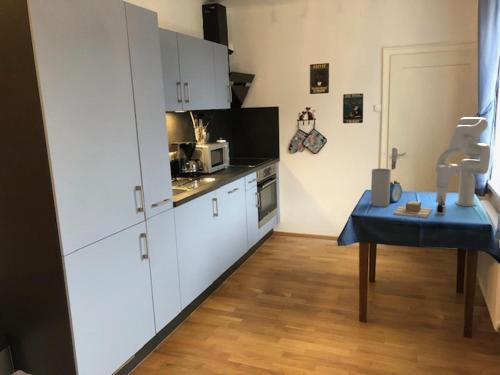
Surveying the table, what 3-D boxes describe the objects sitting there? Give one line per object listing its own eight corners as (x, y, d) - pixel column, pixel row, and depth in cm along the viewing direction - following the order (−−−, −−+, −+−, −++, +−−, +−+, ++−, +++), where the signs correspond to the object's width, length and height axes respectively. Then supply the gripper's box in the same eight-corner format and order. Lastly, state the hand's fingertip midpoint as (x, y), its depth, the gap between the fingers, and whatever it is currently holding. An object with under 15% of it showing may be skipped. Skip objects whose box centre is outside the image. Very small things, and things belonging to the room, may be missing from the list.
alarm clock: (391, 203, 290) (392, 183, 287) (383, 202, 295) (384, 182, 292) (401, 200, 298) (402, 180, 294) (394, 199, 302) (395, 179, 299)
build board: (400, 206, 281) (400, 197, 280) (431, 210, 271) (432, 200, 270) (393, 214, 265) (394, 204, 263) (426, 217, 254) (427, 207, 253)
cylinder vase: (384, 208, 280) (385, 172, 275) (367, 205, 288) (368, 170, 283) (392, 204, 289) (393, 169, 283) (375, 201, 297) (377, 167, 292)
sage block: (437, 211, 267) (437, 204, 266) (445, 212, 264) (445, 205, 263) (435, 213, 263) (436, 206, 262) (444, 214, 260) (444, 207, 259)
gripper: (438, 181, 269) (436, 206, 272) (434, 186, 254) (432, 213, 258) (450, 182, 265) (448, 208, 269) (447, 187, 251) (445, 214, 254)
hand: (440, 210), depth 263 cm, fingers open, 8 cm apart
